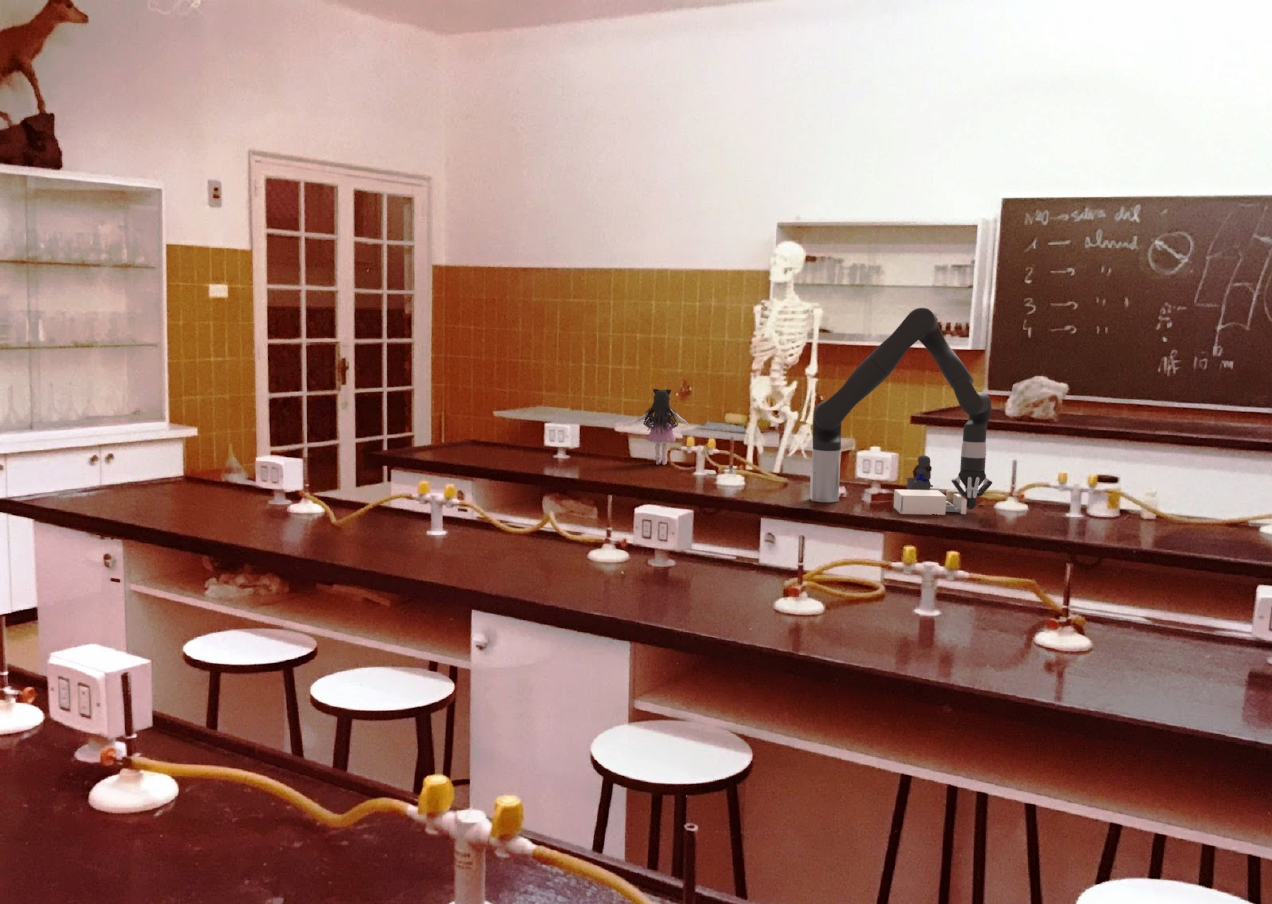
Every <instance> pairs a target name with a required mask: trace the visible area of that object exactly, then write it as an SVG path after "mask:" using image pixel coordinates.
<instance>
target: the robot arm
mask: <svg viewBox="0 0 1272 904" xmlns="http://www.w3.org/2000/svg"><path fill="white" fill-rule="evenodd" d="M918 341H919V342H920V343H921V344H922V345H923V346H924V347H925V348H926V350H927V351H928V352H929V353H930V355H931V356H932V358H933V360H934V362H935V363H936V364H937V367H938V369H939V370H940V371H941V373H942V376H944V379H946V381H947V383H948V384H949V385H950V387H951V388H952V389H953V392H954V395H955V397H956V400H957V403H958V404H959V406H960V408H961V409H962V411H964V413H965V414H967V415H969V416H968V419H967V422H966V423H964V425H963V430H962V432H963V433H962V443H961V450H960V451H961V452H960V465H959V467H960V468H959V473H958V476H957V477H956V478H952V479H951V483H952V484H953V486H954V487H955V490H957V491H959V493H960V495H961V496H962V497H964V498H965V499H966V500H967V505H966V510H974V508H976V505H977V504H976V503H977V498H978V497H981V496H983V495H984V494H985V493H986V491H988V489H989V488H990V487H991V486H992V485H993V481H992V480H991V479H989V478H987V474H986V472H985V471H986V460H987V459H986V457H987V442H986V441H987V428H988V424H989V420H990V417H991V413H992V401H991V397H990V396H989V395H988V394H987V393H985V392H981V391H979V392H977V390H976V388H975V387H974V385H973V384H974V378H973V377H972V374H971V373H970V372H969V370H968V368H967V367H966V366H965V364H964V363H963V362H962V360H961V359H960V357H959V356H958V355H957V354H956V352H955V351H954V350H953V349H952V347H950V345H949V343H948V342H947V340H946V339H945V336H944V335H943V333H942V331H941V328H940V325H939V323H938V318H937V317H936V316H935V313H934V312H933V311H932V310H931V309H930V308H927V307H922V306H921V307H917V308H914V309H913V310H912V311H910V312H909V313H908V314H907V316H906V317H905V318H904V320H903V321H902V322H901V323H900V324H899V326H897V328H895V330H894V331H893V332H892V334H890V336H888V338H886V339H885V340H884V341H882V343H880V344H879V345H878V346H877V347H876V348H875V349H874V350H873V351H872V352H871V353H870V354H869V355H868V356H867V357H865V359H864V360H863V361H862V362H860V364H858V365H857V367H856V368H855V369H854V370H853V372H851V375H849V377H848V379H846V380H845V382H844V384H843V385H842V386H841V387H840V389H838V390H837V391H836V392H835V393H834V394H833V395H832V396H831V397H829V398H828V399H827V400H822V401H820V402H819V403H817V405H816V406H815V407H814V410H813V418H812V421H813V423H812V453H811V457H812V458H811V470H810V478H809V479H810V481H809V483H810V484H809V500H811V502H817V503H836V502H839V498H840V478H841V477H840V474H841V453H842V451H841V450H842V449H841V448H842V447H841V446H842V422H843V421H844V419H845V418H846V417H847V415H848V414H849V413H850V412H851V411H852V410H853V409H854V407H856V405H857V404H859V403H860V402H861V401H862V400H863V399H865V398H866V397H867V396H868V395H870V394H871V393H872V392H873V391H874V390H875V389H876V388H877V387H878V386H880V385H881V384H882V383H883V382H884V381H885V380H886V379H888V377H889V376H890V375H891V374H892V373H893V372H894V371H895V369H896V368H897V366H898V364H899V363H900V361H901V360H902V358H903V357H904V355H905V354H906V352H907V351H908V350H909V349H910V348H911V347H912V346H913V345H914V344H916V343H917V342H918ZM961 483H962V485H964V489H963V488H962V486H961ZM980 485H981V486H980ZM979 486H980V487H979Z"/></svg>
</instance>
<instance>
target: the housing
mask: <svg viewBox="0 0 1272 904" xmlns="http://www.w3.org/2000/svg"><path fill="white" fill-rule="evenodd" d="M893 509H895V510H896V511H897V512H898V513H899V514H900V515H932V514H935V515H936V514H937V515H938V516H939V515H942V516H945V515H946V512H945V511H946V495H945V494H944V493H942V492H941V491H940V490H938V489H930V490H906V489H894V495H893Z"/></svg>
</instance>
